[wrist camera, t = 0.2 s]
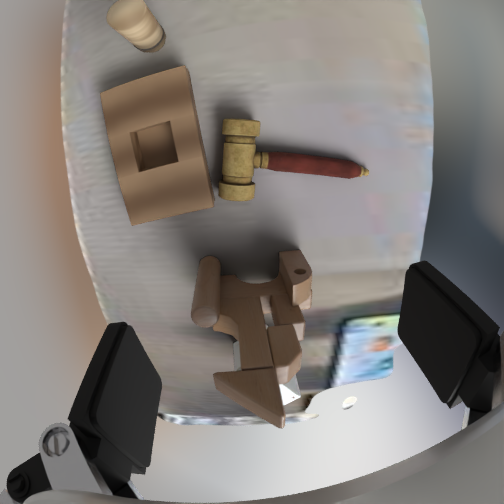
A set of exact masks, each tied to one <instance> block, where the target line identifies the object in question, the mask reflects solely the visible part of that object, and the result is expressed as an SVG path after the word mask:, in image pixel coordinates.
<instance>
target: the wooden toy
mask: <svg viewBox="0 0 504 504" xmlns="http://www.w3.org/2000/svg"><path fill="white" fill-rule="evenodd" d="M220 273H221V264H220V262H219V260H218V259H217V258H215V257H213V256H206V257H204V258H202V260H201V261H200V263H199V268H198V273H197V279H196V285H195V291H194V297H193V303H192V309H191V318H192V320H193V322H194V323H195V324H196V325H198V326H200V327H211V326H213V330H214V331H221V332H224V333H227V334H230V335H233V336H234V337H235V339H236V340H237V341H238V342H239V351H240V365H241V371H231V372H217V373H214V374H213V377H214V381H215V386H216V389H217V390H219V391H220V392H221V393H223V394H224V395H226V396H227V397H229V398H230V399H232V400H234V401H235V402H237V403H238V404H240V405H241V406H243V407H244V408H246V409H248V410H249V411H251V412H252V413H254V414H256V415H257V416H259V417H261V418H262V419H264V420H266V421H268V422H269V423H271V424H273V425H275V426H276V427H278V428H283V427H284V425H285V416H286V415H285V410H284V405H283V400H282V395H281V391H280V386H279V385H280V384H286V383H288V382H289V381H290V380H291V379H292V378H293V376H294V375H295V374H296V373H297V372H298V371H299V370H300V367H301V357H302V349H301V346H300V343H299V341H302V340H303V339H304V331H305V320H304V317H303V315H302V312H301V310H303V309H310V308H311V299H312V289H311V282H312V270H311V267H310V266H309V264H308V262H307V261H306V259H305V257H304V255H303V254H302V252H301V250H293V251H281V252H279V272H278V276H277V277H276V278H275V279H274V280H272V281H270V282H266V283H260V284H251V283H246V282H243V281H241V280H239V279H238V278H237V276H236V275H223V276H220ZM266 313H272V317H273V322H274V326H271V327H267V330H266V325H265V320H264V315H263V314H266Z"/></svg>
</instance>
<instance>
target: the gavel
mask: <svg viewBox="0 0 504 504" xmlns="http://www.w3.org/2000/svg"><path fill="white" fill-rule="evenodd" d="M259 133H260V122H259V121H256V120H246V119H224V120H223V127H222V134H225V135H226V139H225V142H224V149H223V165H222V174H223V180H221V181H219V193H218V195H219V197H221V198H223V199H226V200H231V201H248V200H251V199H253V198H254V192H255V183H254V182H252V176H253V174H254V168H259V167H260V168H263V169H269V170H274V171H282V172H294V173H305V174H315V175H324V176H332V177H341V178H348V179H350V178H354V177H361V176H362V175H365V176H367V175H368V174H369V170H368V169H363V167H362V166H359V165H357V164H356V163H354V162H352V161H348V160H341V159H335V158H328V157H320V156H312V155H304V154H295V153H286V152H261V153H260V152H258V151H255V150H256V144H255V137H257V136H259Z"/></svg>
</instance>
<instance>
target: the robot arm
mask: <svg viewBox="0 0 504 504" xmlns="http://www.w3.org/2000/svg"><path fill="white" fill-rule="evenodd" d="M499 328H500V327H499V326H498V325H497V324H496V323H495V322H494V321H493V320H492V319H491V318H490V317H489V316H488V315H487V314H486V313H485V312H484V311H483V310H482V309H481V308H479V307H478V305H476V304H475V303H474V302H473V301H472V300H471V299H470V298H469V297H468V296H467V295H466V294H465V293H463V292H462V291H461V290H460V289H459V288H458V287H457V286H456V285H454V284H453V283H452V282H451V281H450V280H449V279H448V278H446V277H445V276H444V275H443V274H442V273H441V272H439V271H438V270H437V269H436V268H434V267H433V266H432V265H431V264H430V263H428V262H427V261H421V262H417V263H414V264H411V265H410V267H409V269H408V270H407V271H406V275H405V283H404V291H403V299H402V306H401V312H400V318H399V324H398V335H399V338H400V339H401V341H402V342H403V344H404V345H405V346H406V348H407V349H408V351H409V352H410V354H411V355H412V357H413V358H414V360H415V361H416V363H417V364H418V366H419V367H420V368H421V370H422V372H423V373H424V375H425V376H426V378H427V379H428V381H429V382H430V384H431V385H432V387H433V389H434V390H435V392H436V393H437V395H438V397H439V398H440V400H441V401H442V402H443V403H447V405H448V407H449V408H450V409H451V408H452V407H454V406H456V405H458V404H459V403H461V402H462V401H463V402H464V403H465V405H466V406H465V412H464V418H463V423H462V429H461V431H459V432H458V433H456V434H454V435H453V436H451V437H449V438H448V439H446V440H444V441H442V442H440V443H439V444H437V445H435V446H433V447H431V448H429V449H427V450H425V451H423V452H421V453H419V454H417V455H415V456H412V457H410V458H408V459H406V460H403V461H401V462H399V463H396V464H394V465H392V466H389V467H387V468H384V469H382V470H379V471H376V472H373V473H371V474H368V475H365V476H362V477H359V478H356V479H353V480H350V481H346V482H343V483H340V484H336V485H332V486H329V487H325V488H321V489H317V490H312V491H308V492H303V493H298V494H293V495H287V496H281V497H275V498H268V499H260V500H252V501H239V502H224V503H178V502H162V501H150V500H144V498H143V497H142V496H141V494H140V493H139V492H138V490H137V489H136V487H135V486H134V485H133V483H132V482H131V480H130V476H131V473H135V474H145V472H146V467H149V465H150V462H151V454H152V446H153V440H154V433H155V426H156V419H157V413H158V407H159V401H160V395H161V389H162V382H161V378H160V376H159V375H158V373H157V371H156V369H155V368H154V366H153V364H152V363H151V361H150V359H149V357H148V355H147V354H146V352H145V350H144V348H143V346H142V344H141V343H140V341H139V339H138V337H137V335H136V333H135V331H134V329H133V328H132V326H130V325H127V323H125V322H118V323H110V324H108V326H107V328H106V330H105V332H104V334H103V336H102V338H101V340H100V343H99V345H98V347H97V349H96V351H95V353H94V355H93V358H92V360H91V362H90V364H89V367H88V369H87V371H86V374H85V376H84V379H83V381H82V383H81V386H80V388H79V391H78V393H77V396H76V398H75V400H74V403H73V406H72V408H71V411H70V414H69V417H68V419H69V421H70V425H69V426H68V425H66V424H64V423H55V424H53V425H50V426H49V427H48V428H46V429H45V431H44V432H43V433H42V435H41V437H40V440H39V451H40V453H38V454H36V455H35V456H33V457H32V458H30V459H29V460H27V461H26V462H24V463H23V464H21V465H19V466H18V467H16V468H14V469H13V470H12V471H11V472H10V474H9V475H8V478H7V490H8V491H7V490H6V489H4V490H3V491H2V493H1V494H0V504H504V331H503V332H502V334H501V336H499V335H498V334H497V333H498V330H499Z"/></svg>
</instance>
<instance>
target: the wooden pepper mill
mask: <svg viewBox="0 0 504 504" xmlns="http://www.w3.org/2000/svg"><path fill="white" fill-rule="evenodd" d="M107 23H108V24H109V25H110V26H111V27H112V28H114V29H115V30H116V31H117V32H119V33H120V34H121V35H122V36H124V37H125V38H126V39H127V40H128V41H130V42H131V43H132V44H133V45H134V46H135V47H136V48H137V49H139V50H140V51H142V52H156V51H158V50H160V49H161V48H162V47H163V45H164V43H165V39H166V34H165V32H164V30H163V28H162V26H161V25H160V24H159V23H158V21H157V20H156V18H155V17H154V16H153V14H152V13H151V11H150V10H149V8H148V7H147V5H146V4H145V3H144V1H143V0H118V1H117V2H115V3H114V4H113V5H112V6H111V8H110V9H109V11H108V13H107Z"/></svg>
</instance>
